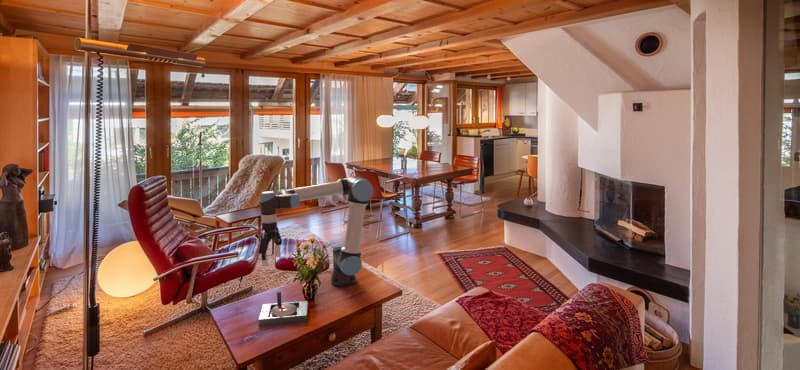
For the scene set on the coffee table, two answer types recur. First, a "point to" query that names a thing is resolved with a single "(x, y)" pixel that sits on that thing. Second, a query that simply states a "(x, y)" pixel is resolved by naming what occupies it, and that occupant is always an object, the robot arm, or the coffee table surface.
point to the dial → (283, 308)
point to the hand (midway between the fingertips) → (271, 261)
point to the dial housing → (268, 319)
